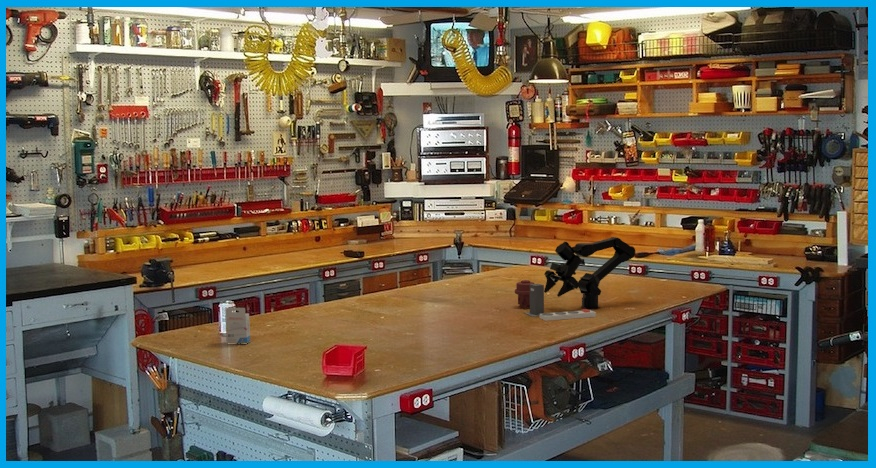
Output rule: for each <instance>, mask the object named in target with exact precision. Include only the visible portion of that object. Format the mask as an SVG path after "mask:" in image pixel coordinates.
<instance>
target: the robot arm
mask: <svg viewBox="0 0 876 468" xmlns="http://www.w3.org/2000/svg"><path fill="white" fill-rule="evenodd" d="M611 248H613V250H614V254H613V256H612V257H611V258H610V259H608V260H607V261H605V263H603V264H602V265H601V266H599V268H598V269H596V270H594V272H592V273H590V272H589V273H588V272H586V273H584V275H583V276H581V277H579V278H580V279H578V280H577V279H576V278H575V277H574V276H575V275H576V274H577V273H576V271H577V270H578V269H579V267H580V266H586V262H585V259H584V258H588V257H590V256H592V255H594V253H597V252H600V251H603V250H606V249H611ZM554 252H555V253H556V254H557V255H558V256H559V257H560V258H561V259H562V260H563V261H566V262H565V263H560V264H558V263H555V262H551V265H550V267H549V269H547V270H546V271H545V272H544V275H545V276H544V277H545V278H546V282H545V285H544V294H547V293H548V292H549V291H550V290H551V289H553V287H555V286H556V285H557V283H558V282H559V281H560V282H563V283H562V286H561V287H560V289H559V291H558V293H557V294H556V296H557V297H558V298H560V297H562V296H563V295H565V294H568V292H571V291H573V290H574V291H575V289H576V290H578V289H579V291H580V294H582V297H581V308H582V309H588V310H594V309H600V308H601V307H600V306H599V296H601V293H602V290H601V289H600V288H599V285H600V283H601V281H602V280H603V279H604V278H605V277H607V276H608V275H609V274H611V272H612V271H614V270H615V269H616V268H617V267H619V266H620V265H621V264H622V263H625V262H628V261H630V260H631V259H634V258H635V257H636V248H635V247H634V246H632V245H630V244H628V243H626V242H625V241H624V240H622V239H621V238H619V237H616V236H611V237H609V238H606V239H602V240H601V239H600V240H598V241H595V242H578V243H576V244H575V245H574V246H571V245H570V243H569V242H567V241H563V242H562V243H560V244H558V246H556V248H555V251H554ZM581 257H583V258H581Z"/></svg>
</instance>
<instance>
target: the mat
mask: <svg viewBox="0 0 876 468" xmlns="http://www.w3.org/2000/svg"><path fill="white" fill-rule="evenodd" d="M524 314H525V315H527V316H529V317H532V318H535V317H540V315H533V314H530V311H529V312H524Z"/></svg>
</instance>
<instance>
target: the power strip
mask: <svg viewBox="0 0 876 468" xmlns="http://www.w3.org/2000/svg"><path fill="white" fill-rule="evenodd" d="M574 318H575V319H583V318H587V319H588V318H597V312H596V311H594V310H592V309H586V308H582V309H581V310H571V311H558V312H557V311H556V312H544V313H543V314H540V316H539V319H540V320H542V319H543V321H545V322H546V321H547V322H548V321H559V320H573V319H574Z"/></svg>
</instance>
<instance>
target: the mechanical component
mask: <svg viewBox="0 0 876 468" xmlns="http://www.w3.org/2000/svg"><path fill="white" fill-rule="evenodd" d="M530 284H536V283H535V282H533V281H530V279H529V280H527V279H523V280H521V281H517V282H516V285H515V286H516V288H515V289H514V294H516V295H517V304H518V305H519V307H520V308H523V309H524V310H525V309H530Z"/></svg>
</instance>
